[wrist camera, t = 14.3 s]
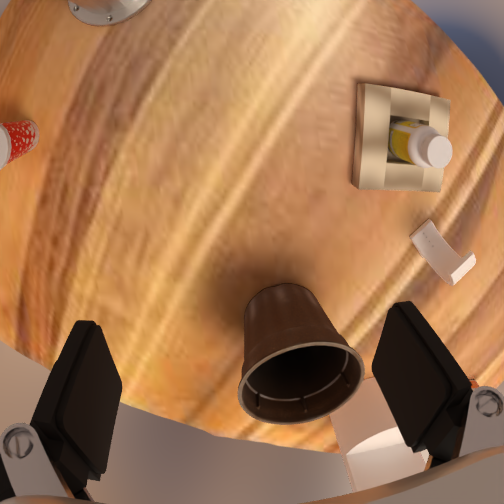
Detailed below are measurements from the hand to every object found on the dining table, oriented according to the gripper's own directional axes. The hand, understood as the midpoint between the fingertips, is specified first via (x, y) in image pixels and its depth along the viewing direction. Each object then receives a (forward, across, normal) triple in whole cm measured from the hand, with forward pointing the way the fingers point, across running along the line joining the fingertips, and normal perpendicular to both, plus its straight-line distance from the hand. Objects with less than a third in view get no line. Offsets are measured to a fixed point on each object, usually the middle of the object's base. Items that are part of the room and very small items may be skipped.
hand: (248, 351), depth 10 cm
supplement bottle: (+33, -24, -3) cm, 41 cm away
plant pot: (+34, -8, +25) cm, 43 cm away
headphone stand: (+34, -32, +13) cm, 48 cm away
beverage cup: (+34, +28, -6) cm, 44 cm away
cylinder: (+34, -29, +54) cm, 70 cm away
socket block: (+33, -24, -3) cm, 41 cm away
